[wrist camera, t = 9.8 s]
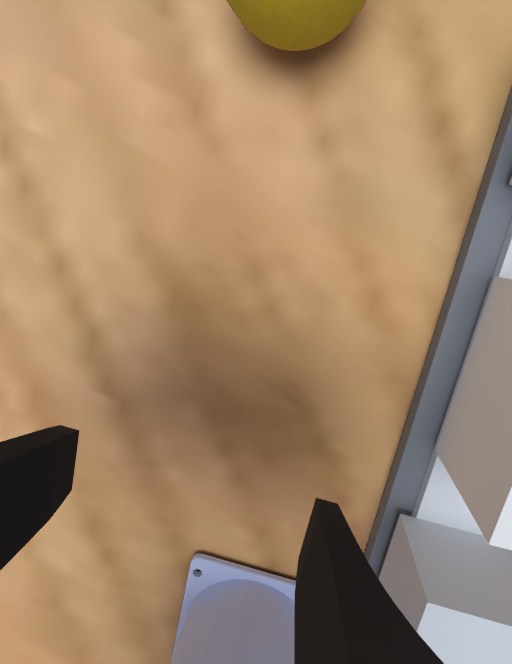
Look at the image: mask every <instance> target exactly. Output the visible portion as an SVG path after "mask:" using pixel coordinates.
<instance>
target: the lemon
mask: <svg viewBox="0 0 512 664" xmlns="http://www.w3.org/2000/svg"><path fill="white" fill-rule="evenodd" d="M227 1H228V3H229V5H230V7H231V8H232V10H233V11H234V12H235V14H236V15H237V17H238V18H239V20H240V21H241V22H242V24H243V25H244V26H245V28H246V29H247V30H249V31H250V32H251V33H252V34H253V35H255V36H256V37H257V38H258V39H259V40H261V41H262V42H263V43H266V44H268V45H270V46H273V47H275V48H277V49H282V50H290V51H301V50H308V49H313V48H315V47H318V46H320V45H322V44H324V43H327V42H329V41H330V40H332V39H333V38H334V37H336V36H337V35H338V34H339V33H341V32H342V31H343V30H344V29H346V27H347V26H348V25H349V24H350V22H351V21H352V20H353V19H354V18H355V16H356V15H357V14H358V13H359V11H360V10H361V9H362V7H363V5H364V4H365V2H366V0H227Z"/></svg>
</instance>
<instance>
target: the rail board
mask: <svg viewBox="0 0 512 664" xmlns="http://www.w3.org/2000/svg"><path fill="white" fill-rule="evenodd" d="M495 276H496V277H502V278H507V279H512V88H511V91H510V94H509V97H508V101H507V104H506V107H505V110H504V113H503V117H502V120H501V123H500V126H499V129H498V132H497V136H496V139H495V142H494V145H493V148H492V151H491V155H490V158H489V161H488V164H487V167H486V170H485V174H484V177H483V180H482V183H481V186H480V189H479V193H478V196H477V199H476V202H475V205H474V208H473V212H472V215H471V218H470V221H469V224H468V227H467V231H466V234H465V237H464V240H463V243H462V246H461V250H460V253H459V256H458V259H457V262H456V265H455V269H454V272H453V275H452V278H451V281H450V284H449V288H448V291H447V294H446V297H445V300H444V303H443V307H442V310H441V313H440V316H439V319H438V323H437V326H436V329H435V332H434V335H433V338H432V342H431V345H430V348H429V351H428V354H427V357H426V361H425V364H424V367H423V370H422V373H421V376H420V380H419V383H418V386H417V389H416V392H415V395H414V399H413V402H412V405H411V408H410V411H409V414H408V418H407V421H406V424H405V427H404V430H403V433H402V437H401V440H400V443H399V446H398V449H397V452H396V456H395V459H394V462H393V465H392V468H391V471H390V475H389V478H388V481H387V484H386V487H385V490H384V494H383V497H382V500H381V503H380V506H379V509H378V513H377V516H376V519H375V522H374V525H373V529H372V532H371V535H370V538H369V541H368V544H367V548H366V551H365V554H364V556H365V557H366V559H367V561H368V563H369V564H370V566H371V568H372V569H373V571H374V573H375V574H376V576H377V578H378V579H379V581H380V582H381V584H382V585H383V587H384V588H385V590H386V591H387V593H388V594H389V596H390V597H391V599H392V600H393V601H394V603H395V604H396V606H397V607H398V608H399V610H400V611H401V612H402V613H403V615H404V616H405V617H406V619H407V620H408V621H409V623H410V624H411V625H412V627H413V628H414V629H415V630H416V632H417V633H418V634H419V635H420V636H421V638H422V639H423V640H424V641H425V642H426V644H427V645H428V646H429V647H430V648H431V649H432V650H433V652H434V653H435V654H436V655H437V656H438V657H439V658H440V659H441V661H442V662H443V663H444V664H512V550H508V549H504V548H501V547H497V546H493V545H489V544H488V542H487V540H486V539H485V537H484V535H483V533H482V532H481V530H480V528H479V526H478V525H477V523H476V521H475V519H474V518H473V516H472V514H471V512H470V511H469V509H468V507H467V505H466V504H465V502H464V500H463V498H462V497H461V495H460V493H459V491H458V490H457V488H456V486H455V484H454V483H453V481H452V479H451V477H450V476H449V474H448V472H447V470H446V469H445V467H444V465H443V463H442V462H441V460H440V458H439V456H438V455H437V453H436V451H435V450H436V447H437V444H438V441H439V438H440V435H441V432H442V429H443V427H444V424H445V421H446V418H447V415H448V412H449V409H450V406H451V403H452V400H453V397H454V394H455V391H456V389H457V386H458V383H459V380H460V377H461V374H462V371H463V368H464V365H465V362H466V359H467V356H468V353H469V350H470V348H471V345H472V342H473V339H474V336H475V333H476V330H477V327H478V324H479V321H480V318H481V315H482V312H483V310H484V307H485V304H486V301H487V298H488V295H489V292H490V289H491V286H492V283H493V280H494V277H495Z"/></svg>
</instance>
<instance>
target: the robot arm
mask: <svg viewBox="0 0 512 664" xmlns="http://www.w3.org/2000/svg"><path fill="white" fill-rule="evenodd" d="M78 437H79V430H76V429H72V428H68V427H65V426H61V425H59V426H54V427H50V428H46V429H43V430H39V431H36V432H32V433H29V434H26V435H22V436H19V437H16V438H12V439H9V440H6V441H2V442H0V570H1V569H2V568H3V567H4V566H5V565H6V564H7V563H8V562H9V561H10V560H11V559H12V558H13V557H14V556H15V555H16V554H17V553H18V552H19V551H20V550H21V549H22V548H23V547H24V546H25V545H26V544H27V543H28V542H29V540H30V539H31V538H32V537H33V536H34V535H35V534H36V533H37V532H38V531H39V530H40V529H41V528H42V527H43V526H44V525H45V524H46V523H47V522H48V521H49V519H50V518H51V517H52V516H53V514H54V513H55V512H56V511H57V509H58V508H59V507H60V505H61V504H62V503H63V501H64V500H65V498H66V497H67V496H68V494H69V493H70V492H71V490H72V483H73V476H74V468H75V460H76V452H77V444H78ZM196 569H199V570H201V572H199V571H197V570H196ZM170 664H444V663H443V662H442V661H441V659H440V658H439V657H438V656H437V655H436V654H435V653H434V652H433V650H432V649H431V648H430V647H429V646H428V645H427V644H426V642H425V641H424V640H423V639H422V638H421V636H420V635H419V634H418V633H417V632H416V630H415V629H414V628H413V627H412V625H411V624H410V623H409V621H408V620H407V619H406V617H405V616H404V615H403V613H402V612H401V611H400V610H399V608H398V607H397V606H396V604H395V603H394V601H393V600H392V599H391V597H390V596H389V594H388V593H387V591H386V590H385V588H384V587H383V585H382V584H381V582H380V581H379V579H378V578H377V576H376V574H375V573H374V571H373V569H372V568H371V566H370V564H369V563H368V561H367V559H366V557H365V556H364V554H363V552H362V550H361V548H360V547H359V545H358V543H357V541H356V539H355V537H354V535H353V533H352V531H351V529H350V527H349V525H348V523H347V521H346V519H345V517H344V515H343V513H342V511H341V509H340V507H339V506H338V504H336V503H333V502H329V501H326V500H322V499H319V498H316V500H315V503H314V507H313V510H312V514H311V517H310V521H309V524H308V527H307V531H306V534H305V538H304V541H303V545H302V548H301V552H300V555H299V560H298V568H297V576H296V581H294V580H291V579H288V578H284V577H281V576H277V575H274V574H270V573H267V572H263V571H260V570H257V569H253V568H250V567H246V566H243V565H239V564H236V563H232V562H229V561H225V560H222V559H219V558H215V557H212V556H208V555H205V554H200V553H198V554H195V555H194V556H193V558H192V560H191V563H190V568H189V573H188V578H187V583H186V588H185V593H184V598H183V603H182V608H181V613H180V618H179V624H178V629H177V634H176V639H175V644H174V649H173V654H172V659H171V662H170Z"/></svg>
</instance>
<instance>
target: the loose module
mask: <svg viewBox="0 0 512 664" xmlns="http://www.w3.org/2000/svg"><path fill="white" fill-rule="evenodd" d="M435 451H436V453H437V455H438V456H439V458H440V460H441V462H442V463H443V465H444V467H445V469H446V470H447V472H448V474H449V476H450V477H451V479H452V481H453V483H454V484H455V486H456V488H457V490H458V491H459V493H460V495H461V497H462V498H463V500H464V502H465V504H466V505H467V507H468V509H469V511H470V512H471V514H472V516H473V518H474V519H475V521H476V523H477V525H478V526H479V528H480V530H481V532H482V533H483V535H484V537H485V539H486V540H487V542H488V544H489V545H493V546H497V547H501V548H504V549H508V550H512V279H507V278H502V277H496V276H495V277H494V280H493V283H492V286H491V289H490V292H489V295H488V298H487V301H486V304H485V307H484V310H483V312H482V315H481V318H480V321H479V324H478V327H477V330H476V333H475V336H474V339H473V342H472V345H471V348H470V350H469V353H468V356H467V359H466V362H465V365H464V368H463V371H462V374H461V377H460V380H459V383H458V386H457V389H456V391H455V394H454V397H453V400H452V403H451V406H450V409H449V412H448V415H447V418H446V421H445V424H444V427H443V429H442V432H441V435H440V438H439V441H438V444H437V447H436V450H435Z"/></svg>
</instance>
